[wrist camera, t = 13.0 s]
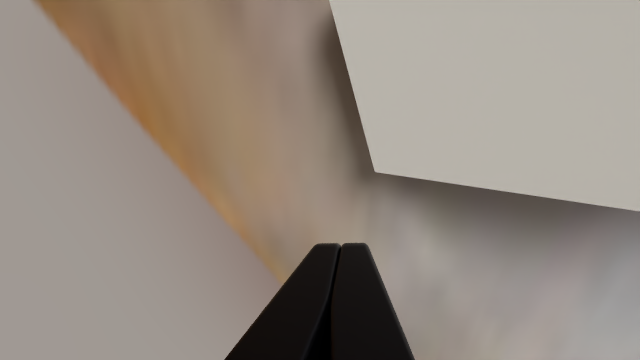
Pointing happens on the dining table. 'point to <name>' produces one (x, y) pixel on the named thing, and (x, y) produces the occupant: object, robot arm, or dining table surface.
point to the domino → (501, 93)
